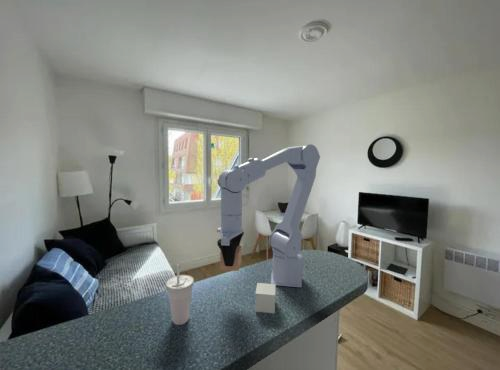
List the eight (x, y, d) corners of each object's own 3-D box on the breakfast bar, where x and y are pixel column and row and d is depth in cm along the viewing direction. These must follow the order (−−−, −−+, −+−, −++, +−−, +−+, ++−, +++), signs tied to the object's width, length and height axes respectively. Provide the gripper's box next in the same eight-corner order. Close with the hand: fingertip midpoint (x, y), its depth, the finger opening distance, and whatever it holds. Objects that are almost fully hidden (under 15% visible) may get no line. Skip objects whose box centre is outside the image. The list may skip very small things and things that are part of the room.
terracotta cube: (241, 262, 64) (241, 246, 64) (238, 270, 59) (238, 253, 59) (224, 261, 65) (224, 244, 64) (220, 269, 60) (220, 251, 59)
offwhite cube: (275, 301, 61) (275, 284, 60) (274, 313, 56) (275, 295, 55) (257, 299, 61) (257, 282, 61) (255, 311, 57) (255, 293, 56)
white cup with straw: (160, 322, 52) (159, 266, 51) (180, 307, 58) (179, 256, 56) (180, 333, 49) (179, 273, 48) (200, 315, 55) (199, 261, 53)
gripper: (223, 207, 68) (223, 249, 69) (209, 219, 54) (209, 272, 55) (246, 208, 67) (245, 251, 69) (237, 221, 53) (237, 274, 54)
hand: (231, 261), depth 62 cm, fingers closed on terracotta cube, 5 cm apart
